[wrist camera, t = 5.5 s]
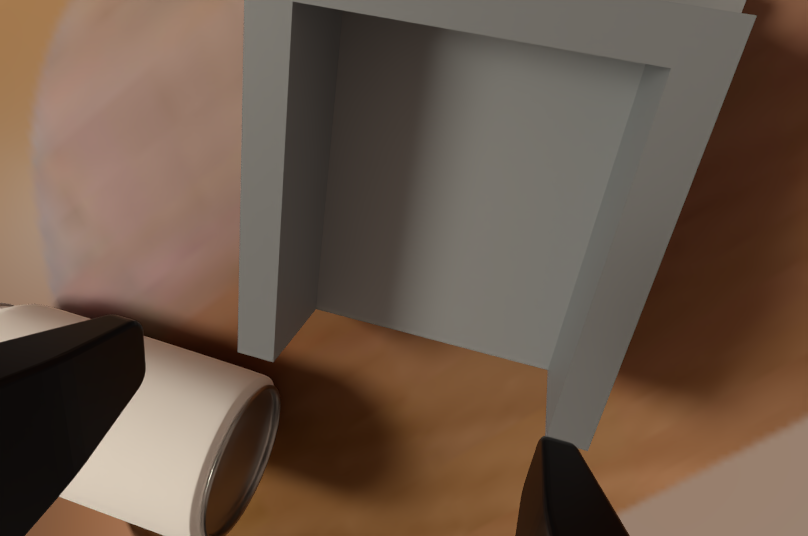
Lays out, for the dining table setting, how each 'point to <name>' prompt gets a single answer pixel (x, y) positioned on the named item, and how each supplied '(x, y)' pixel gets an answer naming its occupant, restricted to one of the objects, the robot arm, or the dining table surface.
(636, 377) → the dining table surface
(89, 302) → the dining table surface
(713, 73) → the u rest
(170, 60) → the dining table surface
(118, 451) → the can
